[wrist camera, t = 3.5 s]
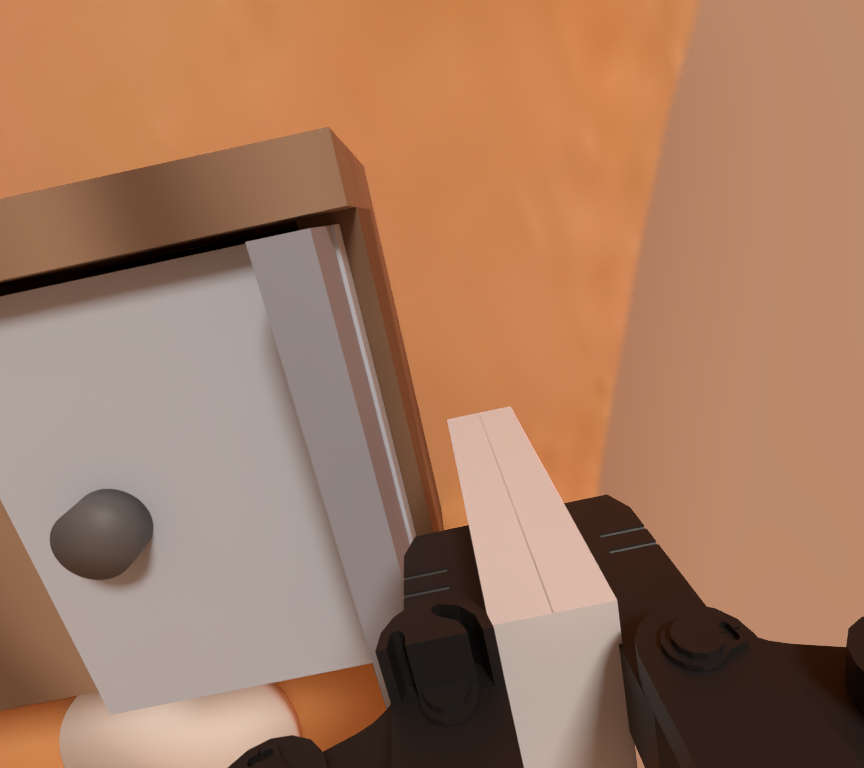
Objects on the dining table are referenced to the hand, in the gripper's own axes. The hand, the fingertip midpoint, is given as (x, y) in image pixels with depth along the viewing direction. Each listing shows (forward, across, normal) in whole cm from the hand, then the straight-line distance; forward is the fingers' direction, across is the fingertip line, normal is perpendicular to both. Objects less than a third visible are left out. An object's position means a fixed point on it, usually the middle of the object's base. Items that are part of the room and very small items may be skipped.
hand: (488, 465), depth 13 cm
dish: (+9, -16, -16) cm, 24 cm away
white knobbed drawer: (+2, -7, 0) cm, 8 cm away
